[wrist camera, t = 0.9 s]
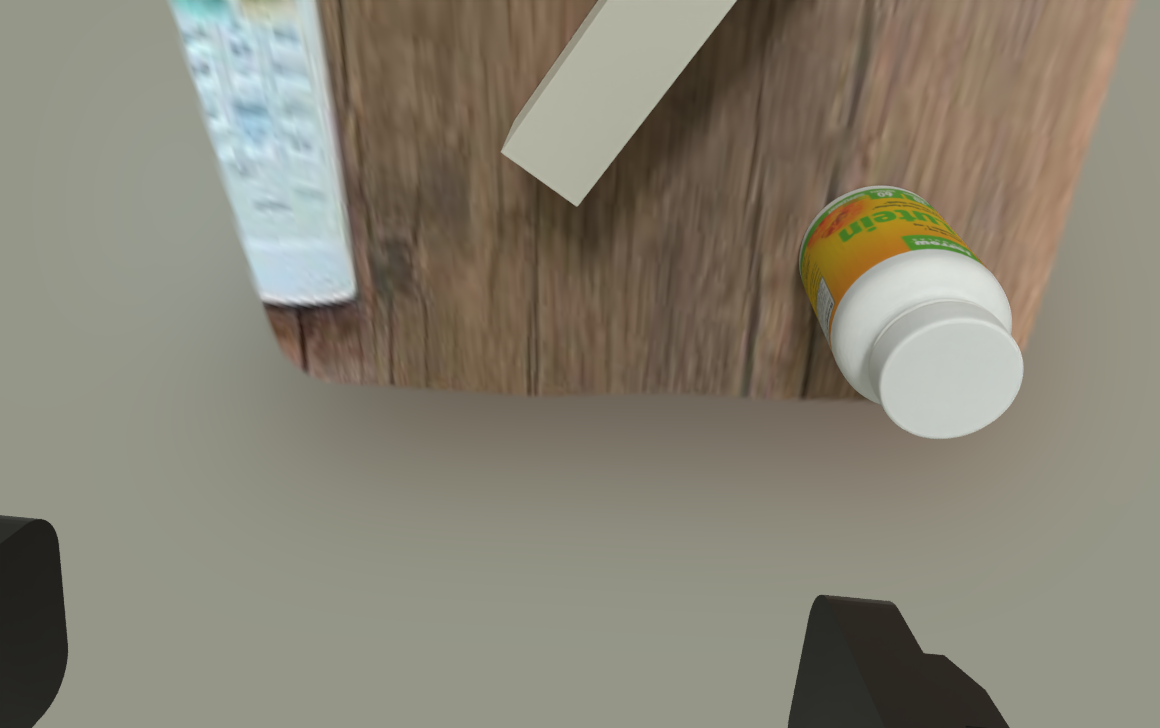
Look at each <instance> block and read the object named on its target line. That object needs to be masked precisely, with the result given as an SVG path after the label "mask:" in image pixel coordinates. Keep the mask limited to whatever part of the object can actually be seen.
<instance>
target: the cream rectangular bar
mask: <svg viewBox="0 0 1160 728" xmlns="http://www.w3.org/2000/svg"><path fill="white" fill-rule="evenodd" d="M736 1H737V0H598V1H597V3H596V4H595V5H594V7H593V8H592V10H591V11H590V13H589V14H588V15H587V17H586V18H585V20H584V21H583V23H582V24H581V25H580V27H579V28H578V30H577V31H576V33H575V34H574V36H573V37H572V38H571V40H570V41H569V43H568V44H567V46H566V47H565V48H564V50H563V51H562V53H561V54H560V56H559V57H558V58H557V60H556V61H555V63H554V64H553V66H552V67H551V68H550V70H549V71H548V73H547V74H546V76H545V77H544V78H543V80H542V81H541V83H540V84H539V86H538V87H537V89H536V90H535V91H534V93H533V94H532V96H531V97H530V99H529V100H528V101H527V103H526V104H525V106H524V107H523V109H522V110H521V111H520V113H519V114H518V116H517V117H516V119H515V120H514V122H513V124H512V127H511V129H510V132H509V134H508V136H507V139H506V141H505V143H504V146H503V148H502V151H501V153H503V154H504V155H505V156H507V157H508V158H510V159H511V160H512V161H514V162H515V163H517V164H518V165H519V166H521V167H522V168H524V169H525V170H526V171H528V172H529V173H530V174H532V175H533V176H535V177H536V178H537V179H539V180H540V181H542V182H543V183H544V184H546V185H547V186H549V187H550V188H551V189H553V190H554V191H556V192H557V193H558V194H560V195H561V196H562V197H564V198H565V199H567V200H568V201H569V202H571V203H572V204H574V205H575V206H576V207H578V205H579V204H580V203H581V201H582V200H583V199H584V197H585V196H586V195H587V194H588V192H589V191H590V190H591V188H592V187H593V186H594V185H595V183H596V182H597V181H598V179H599V178H600V177H601V175H602V174H603V173H604V172H605V170H606V169H607V168H608V166H609V165H610V164H611V163H612V161H613V160H614V159H615V157H616V156H617V155H618V153H619V152H620V151H621V150H622V148H623V147H624V146H625V144H626V143H627V142H628V141H629V139H630V138H631V137H632V135H633V134H634V133H635V132H636V130H637V129H638V128H639V126H640V125H641V124H642V122H643V121H644V120H645V119H646V117H647V116H648V115H649V113H650V112H651V111H652V110H653V108H654V107H655V106H656V104H657V103H658V102H659V100H660V99H661V98H662V97H663V95H664V94H665V93H666V91H667V90H668V89H669V88H670V86H671V85H672V84H673V82H674V81H675V80H676V78H677V77H678V76H679V75H680V73H681V72H682V71H683V69H684V68H685V67H686V66H687V64H688V63H689V62H690V60H691V59H692V58H693V56H694V55H695V54H696V53H697V51H698V50H699V49H700V47H701V46H702V45H703V44H704V42H705V41H706V40H707V38H708V37H709V36H710V35H711V33H712V32H713V31H714V29H715V28H716V27H717V25H718V24H719V23H720V22H721V20H722V19H723V18H724V16H725V15H726V14H727V13H728V11H729V10H730V9H731V7H732V6H733V5H734V3H735V2H736Z"/></svg>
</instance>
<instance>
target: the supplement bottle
mask: <svg viewBox="0 0 1160 728" xmlns="http://www.w3.org/2000/svg"><path fill="white" fill-rule="evenodd" d="M799 269H800V275H801V279H802V282H803V285H804V288H805V291H806V293H807V295H808V298H809V300H810V302H811V305H812V307H813V309H814V312H815V314H816V316H817V319H818V321H819V324H820V326H821V328H822V330H823V333H824V335H825V337H826V340H827V342H828V344H829V347H830V349H831V352H832V354H833V356H834V359H835V361H836V363H837V365H838V367H839V369H840V371H841V372H842V374H843V375H844V377H845V379H846V380H847V381H848V382H849V384H850V385H851V386H852V387H853V388H854V389H855V390H856V391H857V392H859V393H860V394H861V395H863V396H864V397H865V398H867V399H869V400H871V401H873V402H875V403H877V404H880V405H882V407H883V409H884V411H885V413H886V414H887V415H888V417H889V418H890V419H891V420H892V421H893V422H894V423H895V424H896V425H897V426H899V427H900V428H902V429H904V430H905V431H907V432H909V433H911V434H914V435H917V436H920V437H925V438H931V439H949V438H955V437H960V436H964V435H967V434H970V433H973V432H975V431H978V430H980V429H981V428H984V427H985V426H987V425H988V424H990V423H991V422H993V421H994V420H995V419H997V418H998V417H999V416H1000V415H1001V414H1002V413H1003V412H1004V411H1005V410H1006V409H1007V408H1008V407H1009V406H1010V405H1011V403H1012V402H1013V400H1014V398H1015V397H1016V395H1017V393H1018V391H1019V388H1020V385H1021V382H1022V377H1023V360H1022V355H1021V352H1020V349H1019V347H1018V345H1017V343H1016V342H1015V340H1014V339H1013V337H1012V336H1011V330H1012V316H1011V310H1010V305H1009V302H1008V299H1007V297H1006V295H1005V293H1004V291H1003V289H1002V287H1001V285H1000V284H999V282H998V281H997V280H996V278H995V277H994V275H993V274H992V273H991V272H990V271H989V270H988V269H987V267H986V266H985V265H984V264H983V263H982V262H981V261H980V260H979V259H978V258H977V257H976V256H975V254H974V253H973V252H972V251H971V250H970V249H969V248H968V247H967V246H966V244H965V243H964V242H963V241H962V240H961V239H960V238H959V236H958V235H957V234H956V233H955V232H954V231H953V230H952V229H951V227H950V226H949V225H948V224H947V223H946V222H945V221H944V219H943V218H942V217H941V216H940V215H939V214H938V212H937V211H936V210H935V209H934V208H933V207H932V206H930V205H929V204H928V203H927V202H926V201H925V200H924V199H923V198H921V197H920V196H918V195H916V194H914V193H912V192H910V191H908V190H905V189H902V188H898V187H893V186H869V187H864V188H860V189H856V190H853V191H851V192H848V193H846V194H844V195H842V196H840V197H838V198H837V199H835V200H834V201H832V202H831V203H829V204H828V205H827V206H826V207H825V208H823V209H822V210H821V211H820V212H819V213H818V215H817V216H816V217H815V218H814V219H813V221H812V222H811V224H810V225H809V227H808V229H807V231H806V233H805V235H804V238H803V241H802V244H801V249H800V254H799Z"/></svg>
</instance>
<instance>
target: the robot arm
mask: <svg viewBox="0 0 1160 728" xmlns="http://www.w3.org/2000/svg"><path fill="white" fill-rule="evenodd" d="M66 631H67V630H66V620H65V608H64V597H63V587H62V575H61V563H60V552H59V543H58V537H57V534H56V532H55V529H54V528H53V526H52V525H51V524H50V523H49V522H47V521H46V520H42V519H34V518H24V517H13V516H2V515H0V728H32V727H33V726H34V725H35V724H36V722H37V721H38V720H39V719H40V718H41V717H42V716H43V715H44V713H45V712H46V711H47V709H48V708H49V707H50V705H51V704H52V702H53V700H54V699H55V697H56V695H57V693H58V691H59V688H60V686H61V683H62V680H63V677H64V673H65V670H66V664H67V657H68V643H67V632H66ZM788 728H1009V726H1008V725H1007V723H1006V722H1005V720H1004V719H1003V717H1002V715H1001V714H1000V712H999V711H998V709H997V707H996V706H995V705H994V703H993V701H992V700H991V698H990V696H989V695H988V693H987V692H986V690H985V689H983V688H982V687H981V686H980V685H979V684H977V683H976V682H975V681H974V680H973V679H972V678H970V677H969V676H968V675H967V674H966V673H964V672H963V671H962V670H961V669H960V668H959V667H957V666H956V665H955V664H954V663H953V662H951V661H950V660H949V659H948V658H947V657H945V656H944V655H935V654H925V653H923V651H922V650H921V648H920V646H919V644H918V643H917V641H916V639H915V637H914V636H913V634H912V632H911V631H910V629H909V627H908V625H907V624H906V622H905V620H904V618H903V617H902V615H901V613H900V611H899V610H898V608H897V607H896V605H895V604H894V603H892V602H890V601H882V600H871V599H860V598H850V597H840V596H829V595H819V596H818V597H817V598H816V599H815V601H814V603H813V605H812V608H811V611H810V615H809V619H808V624H807V629H806V634H805V640H804V644H803V649H802V654H801V659H800V664H799V670H798V675H797V680H796V685H795V690H794V695H793V700H792V705H791V710H790V715H789V722H788Z"/></svg>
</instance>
